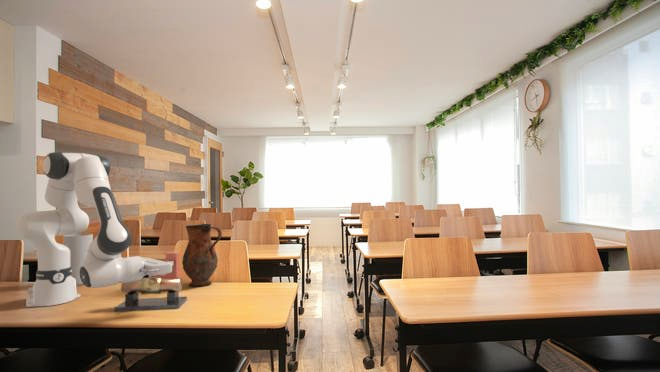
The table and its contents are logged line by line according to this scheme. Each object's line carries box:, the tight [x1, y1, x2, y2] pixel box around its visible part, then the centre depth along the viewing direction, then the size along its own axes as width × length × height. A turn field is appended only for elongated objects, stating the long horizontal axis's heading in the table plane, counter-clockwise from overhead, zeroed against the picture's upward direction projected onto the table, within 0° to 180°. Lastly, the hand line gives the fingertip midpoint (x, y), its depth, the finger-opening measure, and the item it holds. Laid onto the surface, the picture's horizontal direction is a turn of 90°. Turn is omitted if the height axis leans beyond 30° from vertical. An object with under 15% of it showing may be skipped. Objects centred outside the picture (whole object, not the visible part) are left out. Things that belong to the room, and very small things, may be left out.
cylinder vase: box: [62, 233, 94, 287], centre depth 184 cm, size 12×12×25 cm
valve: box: [114, 277, 188, 312], centre depth 146 cm, size 24×11×11 cm, turn 96°
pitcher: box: [181, 223, 223, 288], centre depth 178 cm, size 17×21×30 cm
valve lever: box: [148, 251, 181, 280], centre depth 143 cm, size 16×3×11 cm, turn 65°
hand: (171, 262), depth 140 cm, fingers closed
